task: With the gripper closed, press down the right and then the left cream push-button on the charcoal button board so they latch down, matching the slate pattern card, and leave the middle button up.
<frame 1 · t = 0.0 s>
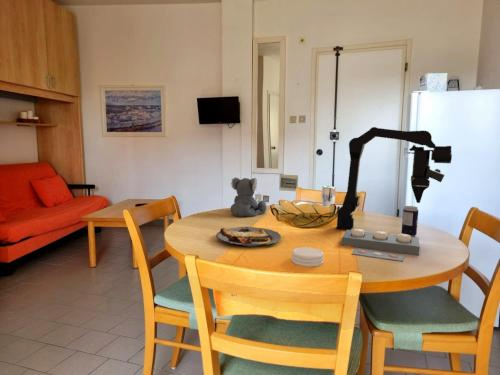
hand: (417, 201, 141), 15 cm above the table, fingers open, 9 cm apart
koala plush: (245, 214, 180), on the table
food plate: (248, 240, 135), on the table
button right: (403, 239, 126), point 3 cm above the table, slide at 0.0 cm
button board: (379, 245, 130), on the table
button left: (358, 234, 132), point 3 cm above the table, slide at 0.0 cm
pattern card: (377, 254, 119), on the table
button middle: (380, 236, 129), point 3 cm above the table, slide at 0.0 cm
grey stacked discs: (307, 262, 111), on the table
beer glass: (327, 216, 179), on the table
beverage can: (408, 235, 144), on the table
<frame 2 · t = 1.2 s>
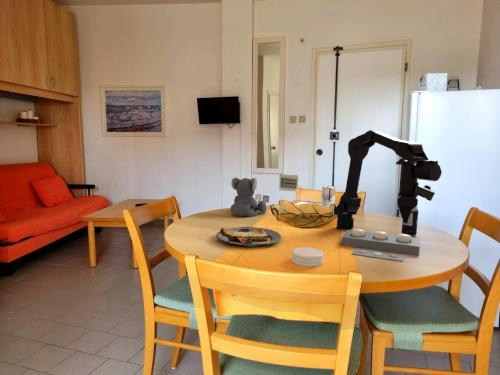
hand: (405, 221, 125), 10 cm above the table, fingers open, 7 cm apart
nothing on the table moved.
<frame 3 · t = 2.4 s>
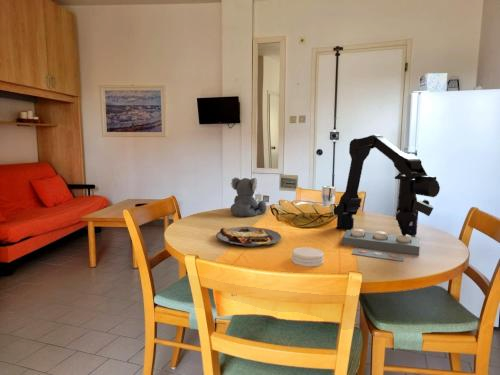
hand: (404, 235, 126), 5 cm above the table, fingers closed, pressing on button right
button right: (403, 239, 126), point 3 cm above the table, slide at 0.0 cm, touching gripper
everything else where it was.
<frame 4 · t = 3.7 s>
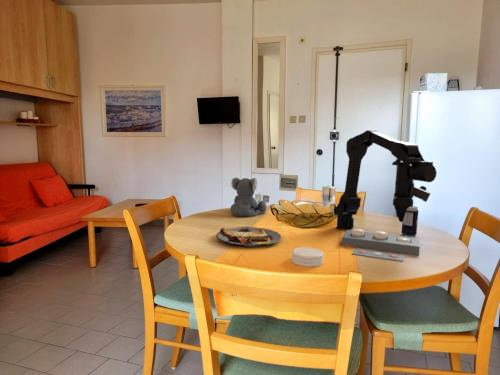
hand: (401, 221, 126), 10 cm above the table, fingers closed
button right: (403, 243, 126), point 2 cm above the table, slide at 1.4 cm
everything else where it was.
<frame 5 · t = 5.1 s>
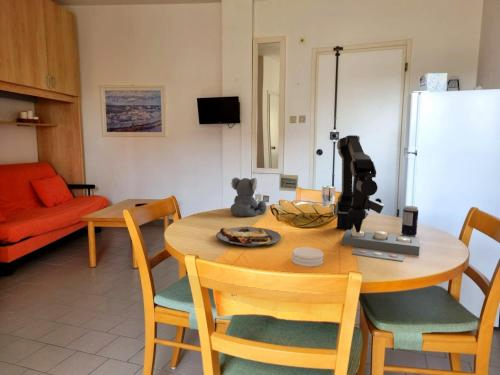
hand: (358, 232, 132), 4 cm above the table, fingers closed, pressing on button left
button left: (357, 235, 132), point 3 cm above the table, slide at 0.8 cm, touching gripper
everything else where it was.
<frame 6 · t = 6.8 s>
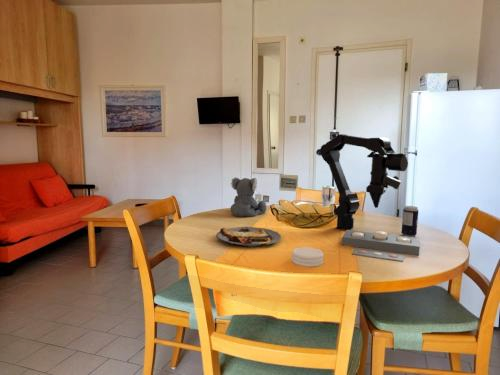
hand: (376, 207, 141), 12 cm above the table, fingers closed
button left: (357, 237, 132), point 2 cm above the table, slide at 1.4 cm
everything else where it was.
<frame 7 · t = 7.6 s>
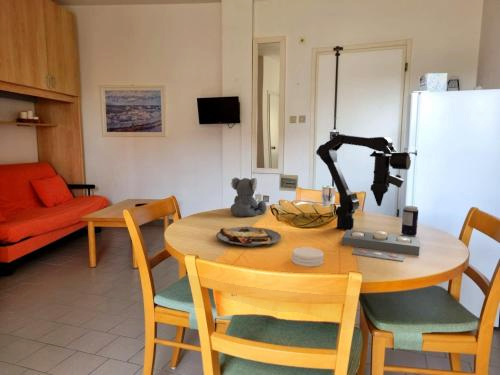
hand: (379, 205, 143), 12 cm above the table, fingers closed
nothing on the table moved.
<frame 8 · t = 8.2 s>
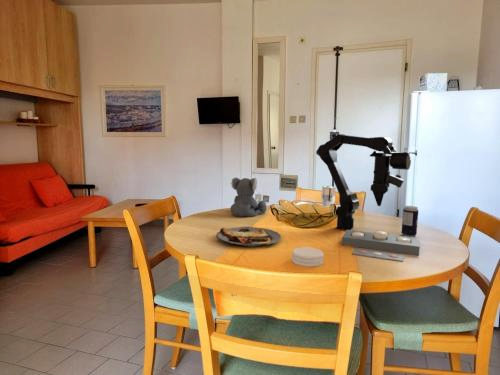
hand: (379, 205, 143), 12 cm above the table, fingers closed
nothing on the table moved.
at the end: button right slide at 1.4 cm; button left slide at 1.4 cm; button middle slide at 0.0 cm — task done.
